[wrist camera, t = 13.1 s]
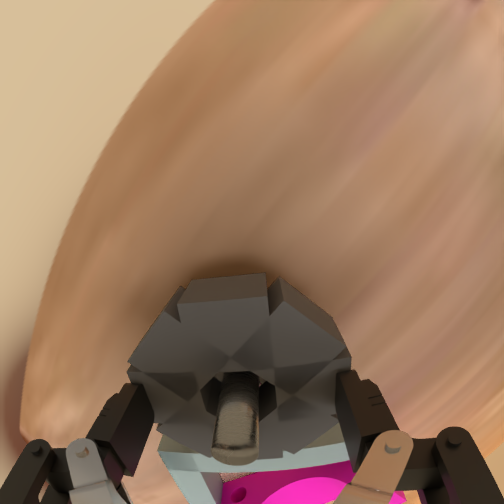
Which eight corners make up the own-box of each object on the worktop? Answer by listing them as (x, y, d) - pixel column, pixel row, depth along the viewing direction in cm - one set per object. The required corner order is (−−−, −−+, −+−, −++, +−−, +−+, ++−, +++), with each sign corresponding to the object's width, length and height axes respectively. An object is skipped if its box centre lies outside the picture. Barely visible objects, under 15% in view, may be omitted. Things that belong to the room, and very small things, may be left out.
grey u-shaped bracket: (365, 402, 19) (379, 434, 16) (339, 518, 25) (343, 538, 21) (168, 418, 20) (157, 450, 16) (223, 527, 25) (222, 547, 22)
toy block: (262, 502, 23) (261, 556, 16) (223, 481, 22) (216, 543, 15) (390, 446, 21) (414, 506, 14) (365, 419, 20) (391, 490, 12)
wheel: (335, 264, 12) (353, 285, 10) (333, 417, 14) (341, 449, 12) (129, 285, 13) (105, 307, 10) (175, 426, 15) (166, 457, 12)
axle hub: (279, 287, 17) (300, 405, 8) (285, 352, 18) (301, 479, 9) (202, 294, 17) (152, 409, 8) (215, 357, 18) (187, 482, 9)
